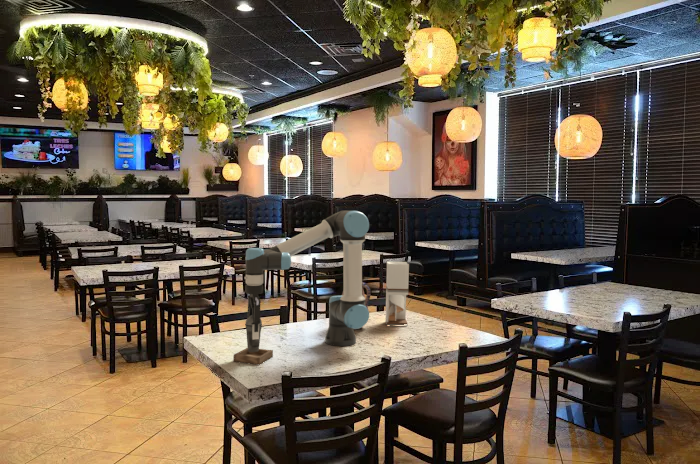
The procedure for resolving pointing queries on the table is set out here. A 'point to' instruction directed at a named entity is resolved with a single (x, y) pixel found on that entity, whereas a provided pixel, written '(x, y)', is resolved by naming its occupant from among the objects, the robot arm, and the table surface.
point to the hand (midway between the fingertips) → (253, 336)
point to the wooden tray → (253, 356)
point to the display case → (396, 292)
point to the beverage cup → (252, 344)
